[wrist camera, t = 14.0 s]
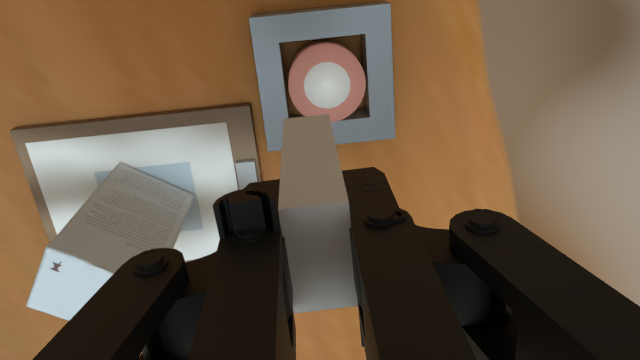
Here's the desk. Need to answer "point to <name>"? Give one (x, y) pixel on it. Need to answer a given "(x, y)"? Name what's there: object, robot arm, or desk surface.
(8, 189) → the desk surface
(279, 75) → the button base
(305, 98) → the button
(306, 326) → the desk surface
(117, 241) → the skincare box
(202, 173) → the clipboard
